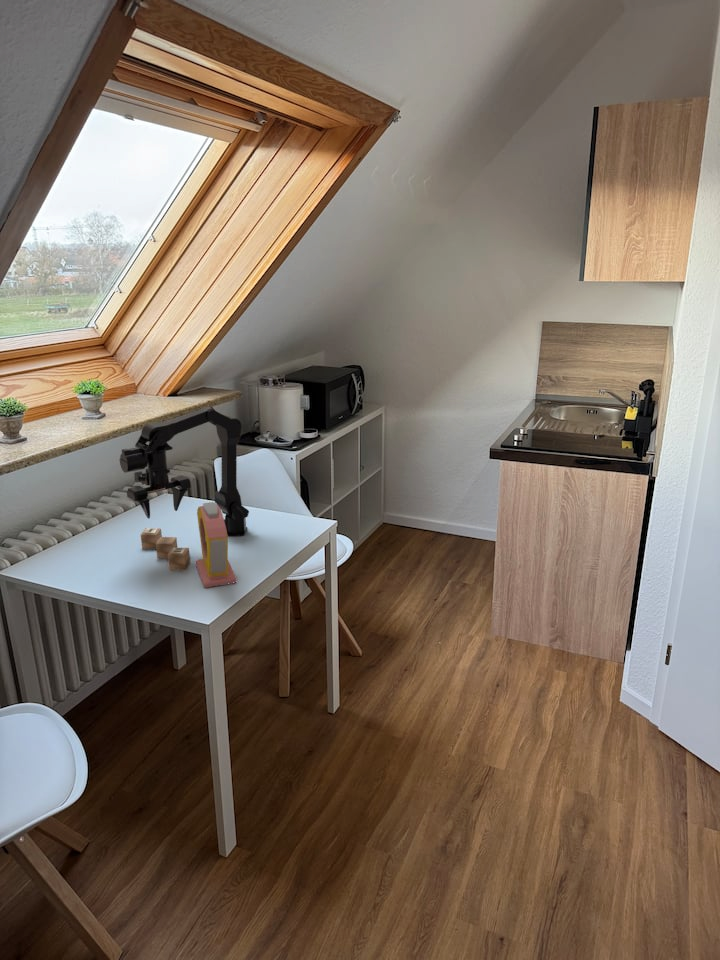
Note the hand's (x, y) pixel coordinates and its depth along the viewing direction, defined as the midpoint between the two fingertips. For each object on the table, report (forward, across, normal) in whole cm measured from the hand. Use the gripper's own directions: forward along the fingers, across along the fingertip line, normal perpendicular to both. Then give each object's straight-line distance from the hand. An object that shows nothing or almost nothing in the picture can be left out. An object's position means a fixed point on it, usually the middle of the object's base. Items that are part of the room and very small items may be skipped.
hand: (162, 514), depth 213 cm
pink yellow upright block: (+13, -3, +23) cm, 27 cm away
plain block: (+13, 0, +1) cm, 13 cm away
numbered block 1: (+13, 0, -9) cm, 16 cm away
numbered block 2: (+13, +2, +11) cm, 17 cm away
